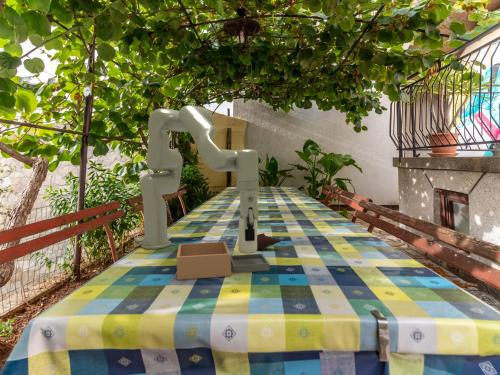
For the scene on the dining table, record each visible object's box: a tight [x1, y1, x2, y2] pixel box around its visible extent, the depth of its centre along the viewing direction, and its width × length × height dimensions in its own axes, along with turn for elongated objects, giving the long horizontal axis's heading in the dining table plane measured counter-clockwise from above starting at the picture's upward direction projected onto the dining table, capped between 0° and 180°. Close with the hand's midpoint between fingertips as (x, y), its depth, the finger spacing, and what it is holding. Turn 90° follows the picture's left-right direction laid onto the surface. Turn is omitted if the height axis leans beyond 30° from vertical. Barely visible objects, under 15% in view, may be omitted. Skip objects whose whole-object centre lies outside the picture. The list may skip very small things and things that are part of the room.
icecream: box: [257, 232, 281, 251], centre depth 131 cm, size 7×7×15 cm
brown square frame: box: [176, 241, 232, 281], centre depth 107 cm, size 17×17×7 cm
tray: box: [231, 253, 271, 274], centre depth 110 cm, size 12×12×2 cm
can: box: [238, 215, 258, 254], centre depth 110 cm, size 6×6×12 cm
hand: (248, 238), depth 109 cm, fingers closed on can, 4 cm apart
